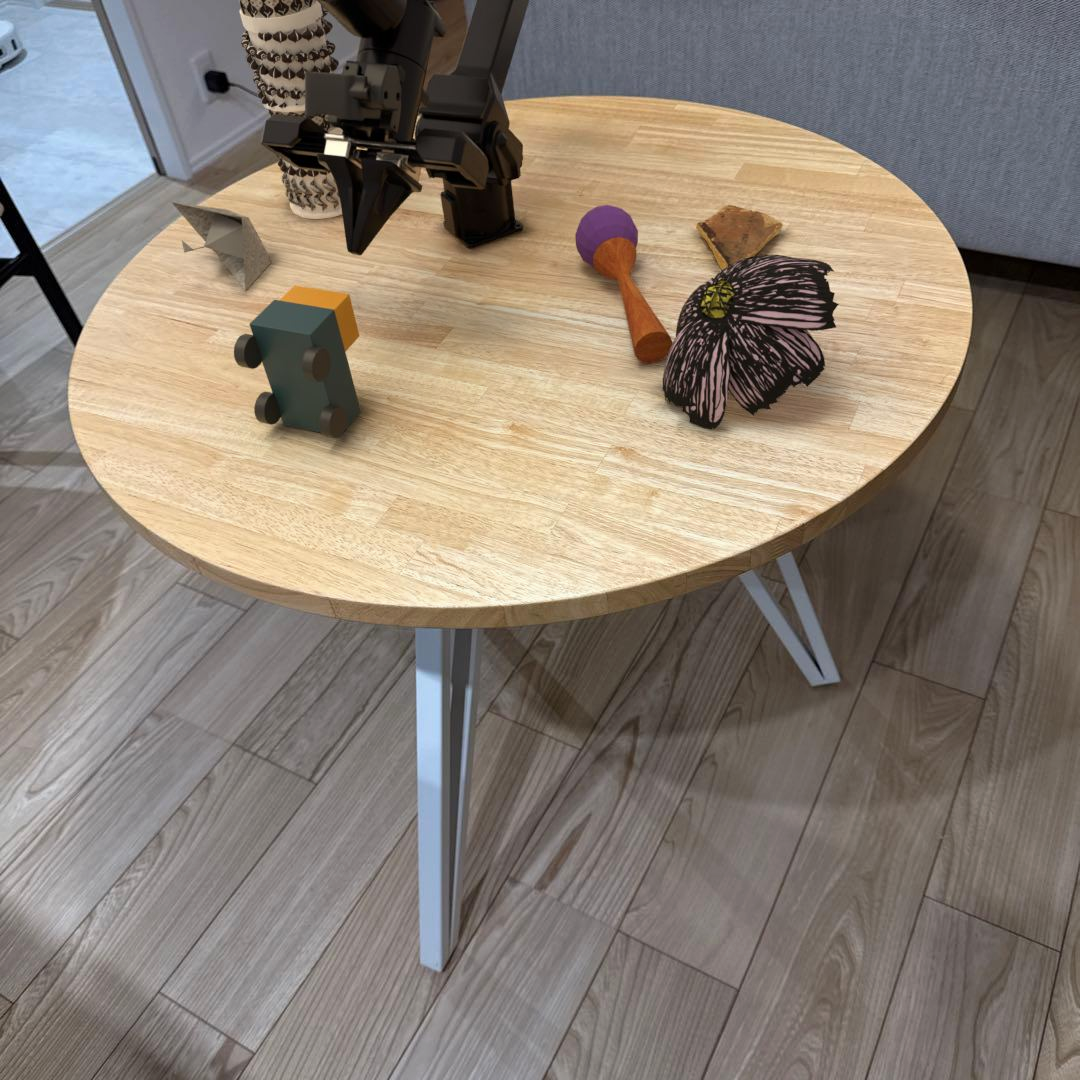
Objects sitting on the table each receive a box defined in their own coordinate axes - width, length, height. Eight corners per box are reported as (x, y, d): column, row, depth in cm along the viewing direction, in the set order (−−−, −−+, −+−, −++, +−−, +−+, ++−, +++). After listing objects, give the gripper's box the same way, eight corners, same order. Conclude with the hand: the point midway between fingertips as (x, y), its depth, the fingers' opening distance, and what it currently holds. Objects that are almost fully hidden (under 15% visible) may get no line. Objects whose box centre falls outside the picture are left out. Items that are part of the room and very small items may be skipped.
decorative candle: (385, 190, 113) (335, -58, 96) (331, 227, 108) (268, -28, 90) (324, 176, 117) (266, -65, 99) (270, 211, 112) (198, -37, 94)
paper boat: (302, 253, 102) (232, 273, 96) (282, 296, 107) (213, 318, 100) (228, 168, 103) (154, 182, 96) (211, 214, 108) (138, 231, 101)
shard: (732, 286, 93) (733, 268, 92) (661, 265, 97) (662, 249, 96) (785, 234, 99) (787, 217, 98) (717, 217, 103) (717, 200, 101)
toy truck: (313, 381, 88) (283, 280, 81) (384, 394, 86) (359, 293, 79) (262, 437, 83) (226, 335, 76) (336, 453, 81) (306, 350, 74)
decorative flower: (633, 242, 81) (821, 190, 76) (673, 331, 91) (843, 290, 85) (634, 386, 74) (841, 340, 69) (677, 466, 84) (863, 431, 78)
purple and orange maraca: (613, 332, 83) (563, 205, 96) (626, 383, 87) (577, 256, 100) (682, 309, 82) (623, 185, 95) (691, 362, 87) (634, 236, 100)
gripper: (238, 10, 78) (201, 209, 79) (452, 22, 72) (409, 237, 73) (315, 75, 88) (281, 250, 89) (507, 90, 82) (469, 278, 83)
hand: (354, 253), depth 83 cm, fingers closed
